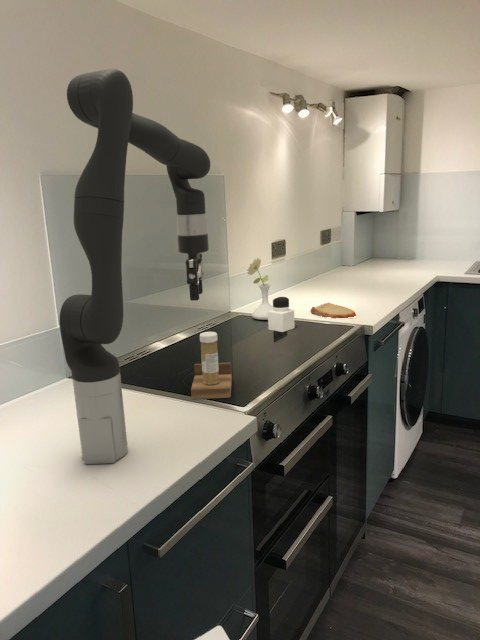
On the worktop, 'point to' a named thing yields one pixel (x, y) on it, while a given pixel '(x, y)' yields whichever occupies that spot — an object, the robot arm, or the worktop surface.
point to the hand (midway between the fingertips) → (196, 296)
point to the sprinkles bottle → (209, 358)
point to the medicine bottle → (281, 315)
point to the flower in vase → (265, 306)
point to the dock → (212, 391)
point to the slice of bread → (332, 311)
